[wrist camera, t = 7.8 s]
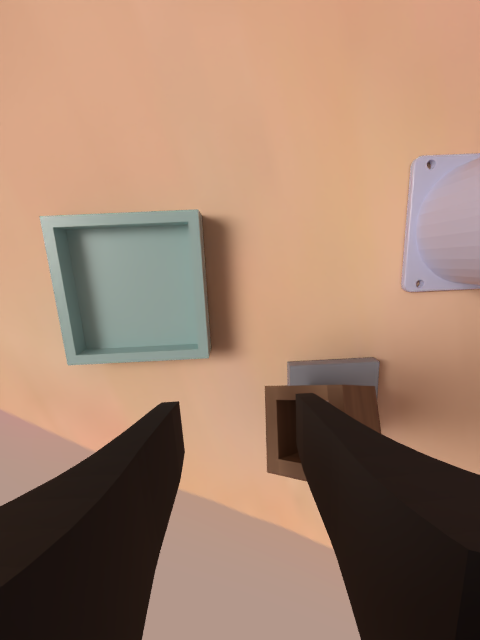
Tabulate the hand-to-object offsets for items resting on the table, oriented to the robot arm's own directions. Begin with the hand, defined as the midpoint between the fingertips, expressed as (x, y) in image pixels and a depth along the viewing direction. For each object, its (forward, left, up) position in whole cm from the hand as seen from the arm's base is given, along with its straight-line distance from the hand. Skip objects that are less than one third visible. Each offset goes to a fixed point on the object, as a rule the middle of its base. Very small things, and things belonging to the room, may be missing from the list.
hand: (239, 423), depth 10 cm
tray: (+6, -4, -9) cm, 12 cm away
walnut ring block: (-6, +4, -6) cm, 10 cm away
